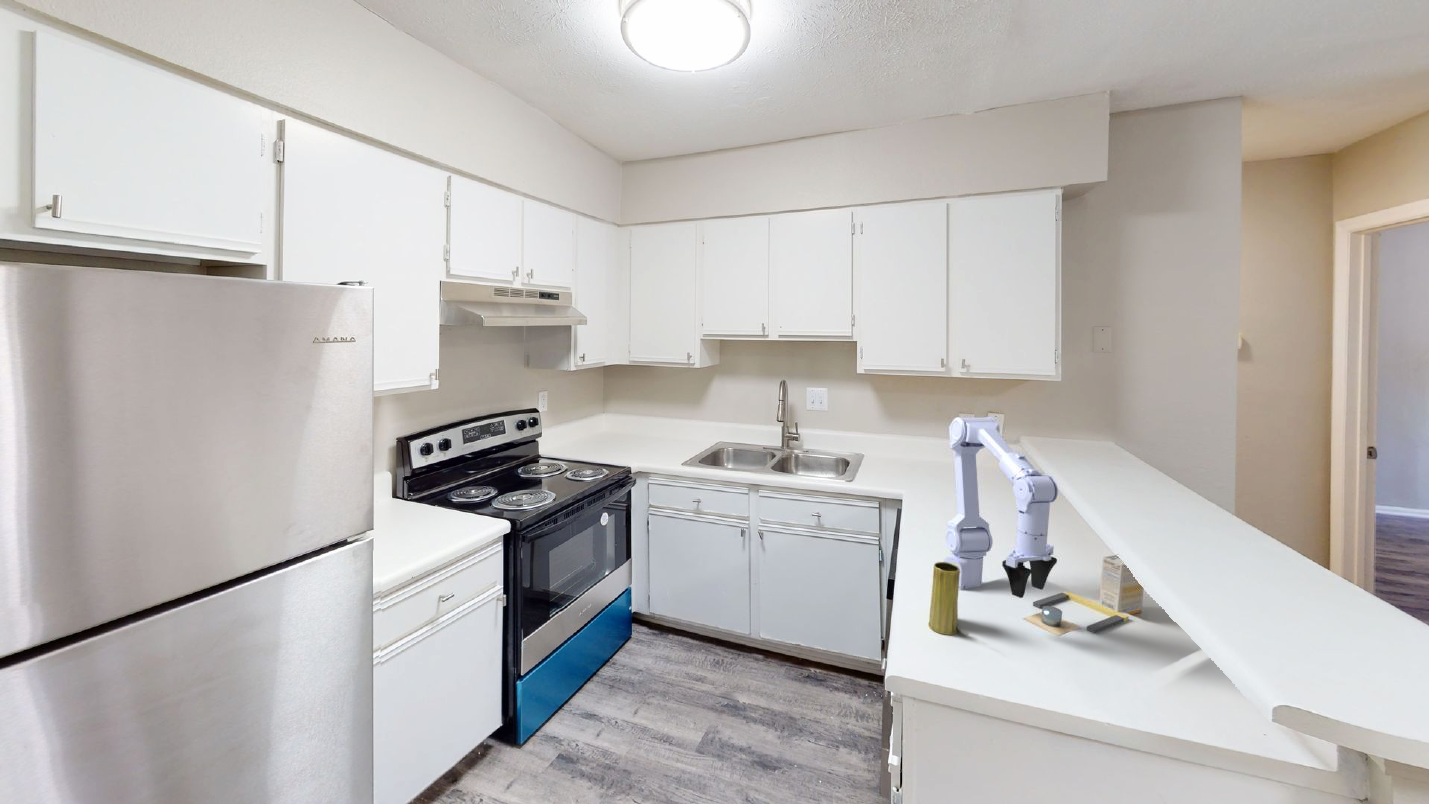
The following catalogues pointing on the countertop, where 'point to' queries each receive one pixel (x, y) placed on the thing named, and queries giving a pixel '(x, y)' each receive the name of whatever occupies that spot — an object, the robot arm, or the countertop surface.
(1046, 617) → the steel cylinder puck
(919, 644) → the countertop surface
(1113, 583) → the supplement box
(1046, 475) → the robot arm
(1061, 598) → the frame
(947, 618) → the vase
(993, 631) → the countertop surface
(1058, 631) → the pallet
